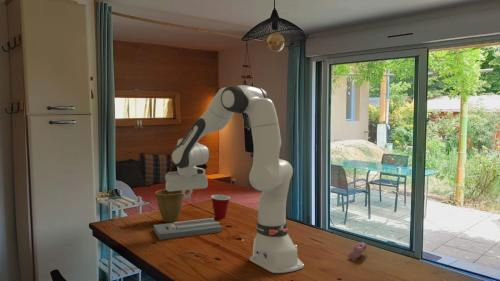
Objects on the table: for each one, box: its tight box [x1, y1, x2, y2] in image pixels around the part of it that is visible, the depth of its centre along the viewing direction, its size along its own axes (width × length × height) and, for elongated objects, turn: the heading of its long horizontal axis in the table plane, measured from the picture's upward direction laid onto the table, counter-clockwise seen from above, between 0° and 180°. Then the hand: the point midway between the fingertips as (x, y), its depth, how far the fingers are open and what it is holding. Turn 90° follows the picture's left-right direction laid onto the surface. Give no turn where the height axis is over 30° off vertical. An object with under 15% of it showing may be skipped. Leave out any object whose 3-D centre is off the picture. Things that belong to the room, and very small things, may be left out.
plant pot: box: [155, 188, 184, 224], centre depth 201 cm, size 15×15×16 cm
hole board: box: [153, 217, 223, 241], centre depth 184 cm, size 16×30×4 cm, turn 114°
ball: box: [168, 225, 176, 230], centre depth 181 cm, size 4×4×4 cm
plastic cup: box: [210, 194, 231, 220], centre depth 208 cm, size 11×11×12 cm
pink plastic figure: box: [347, 241, 368, 260], centre depth 151 cm, size 10×5×7 cm, turn 150°
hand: (187, 198), depth 183 cm, fingers closed
